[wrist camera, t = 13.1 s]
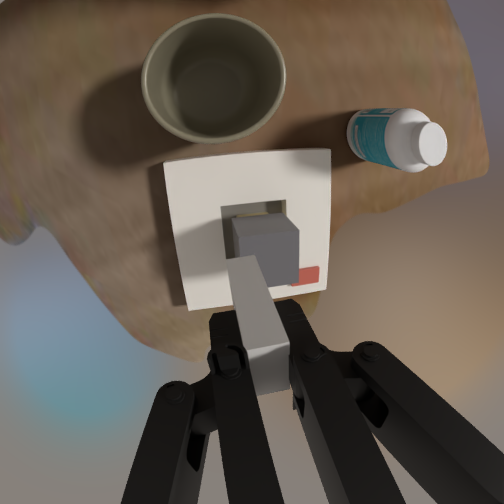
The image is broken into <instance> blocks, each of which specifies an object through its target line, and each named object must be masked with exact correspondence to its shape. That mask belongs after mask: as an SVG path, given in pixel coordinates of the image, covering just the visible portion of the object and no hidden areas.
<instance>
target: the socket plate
mask: <svg viewBox="0 0 504 504" xmlns="http://www.w3.org/2000/svg"><path fill="white" fill-rule="evenodd" d="M163 166H164V174H165V181H166V189H167V196H168V203H169V209H170V216H171V222H172V228H173V234H174V240H175V245H176V251H177V256H178V262H179V267H180V272H181V277H182V282H183V287H184V292H185V297H186V301H187V306H188V310H189V311H190V310H198V309H205V308H213V307H220V306H227V305H233V301H232V295H231V289H230V282H229V276H228V270H227V263H226V259H232V258H235V251H234V241H233V230H232V219H231V218H237V216H236V215H243V214H252V213H261V212H268V214H273V213H284V214H285V215H286V216H287V217H288V218H289V220H290V221H291V222H292V223H293V224H294V225H295V226H296V227H297V228H298V229H299V283H294V284H288V285H282V286H275V287H269V288H268V289H269V292H270V294H271V297H272V299H274V298H280V297H286V296H292V295H298V294H303V293H309V292H315V291H320V290H326V285H327V271H328V256H329V237H330V209H331V149H326V148H292V149H272V150H256V151H243V152H232V153H221V154H212V155H203V156H195V157H187V158H180V159H173V160H166V161H165V162H164V163H163Z"/></svg>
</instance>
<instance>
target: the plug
mask: <svg viewBox="0 0 504 504" xmlns="http://www.w3.org/2000/svg"><path fill="white" fill-rule="evenodd" d="M236 216H237V218H231V219H232V230H233V241H234V251H235V258H238V257H245V256H251V255H255V257H256V260H257V262H258V265H259V267H260V270H261V272H262V275H263V277H264V280H265V282H266V284H267V287H268V288H269V287H275V286H282V285H288V284H294V283H299V229H298V228H297V227H296V226H295V225H294V224H293V223H292V222H291V221H290V220H289V218H288V217H287V216H286V215H285V214H284V213H273V214H268V212H261V213H252V214H243V215H236Z"/></svg>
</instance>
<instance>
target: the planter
mask: <svg viewBox="0 0 504 504" xmlns="http://www.w3.org/2000/svg"><path fill="white" fill-rule="evenodd" d="M285 87H286V67H285V62H284V59H283V56H282V53H281V51H280V49H279V47H278V46H277V44H276V43H275V41H274V40H273V39H272V38H271V36H270V35H269V34H268V33H267V32H266V31H264V30H263V29H262V28H261V27H259V26H258V25H256V24H254V23H253V22H251V21H249V20H247V19H244V18H241V17H238V16H234V15H230V14H221V13H210V14H202V15H197V16H193V17H190V18H187V19H185V20H183V21H181V22H179V23H177V24H175V25H173V26H172V27H170V28H169V29H168V30H166V31H165V32H164V33H163V34H162V35H161V36H160V37H159V38H158V39H157V40H156V41H155V43H154V44H153V45H152V47H151V48H150V50H149V52H148V54H147V56H146V58H145V61H144V64H143V68H142V73H141V89H142V95H143V98H144V101H145V104H146V106H147V108H148V110H149V112H150V113H151V115H152V116H153V118H154V119H155V120H156V121H157V122H158V123H159V124H160V125H161V126H162V127H163V128H164V129H166V130H167V131H169V132H170V133H172V134H173V135H175V136H177V137H179V138H182V139H184V140H187V141H190V142H195V143H201V144H222V143H228V142H232V141H235V140H238V139H241V138H243V137H246V136H248V135H250V134H251V133H253V132H255V131H256V130H258V129H259V128H260V127H262V126H263V125H264V124H265V123H266V122H267V121H268V120H269V119H270V118H271V117H272V115H273V114H274V113H275V111H276V110H277V108H278V106H279V105H280V103H281V100H282V98H283V95H284V92H285Z"/></svg>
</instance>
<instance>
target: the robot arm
mask: <svg viewBox="0 0 504 504" xmlns="http://www.w3.org/2000/svg"><path fill="white" fill-rule="evenodd" d="M226 263H227V270H228V276H229V282H230V289H231V295H232V301H233V306H234V310H231V311H225V312H219V313H213V315H212V317H211V319H210V321H209V328H210V340H211V350H210V352H209V353H208V356H207V360H208V364H209V367H210V370H211V371H210V373H209V374H208V375H207V376H206V377H205V378H204V379H202V380H200V381H198V382H196V383H193V384H191V385H189V384H187V383H186V382H182V381H171V382H169V383H166V384H165V385H163V386H162V387H161V388H160V389H159V390H158V392H157V394H156V397H155V399H154V402H153V405H152V408H151V411H150V414H149V417H148V420H147V423H146V426H145V428H144V431H143V435H142V437H141V440H140V444H139V446H138V449H137V452H136V456H135V459H134V462H133V465H132V468H131V471H130V474H129V478H128V481H127V484H126V488H125V491H124V494H123V498H122V501H121V504H197V502H198V497H199V491H200V485H201V480H202V474H203V468H204V463H205V458H206V452H207V446H208V440H209V436H210V432H213V431H215V430H217V429H218V434H219V440H220V448H221V455H222V462H223V469H224V476H225V481H226V488H227V494H228V499H229V504H284V500H283V497H282V493H281V489H280V486H279V483H278V478H277V475H276V471H275V467H274V464H273V460H272V456H271V452H270V448H269V444H268V440H267V436H266V433H265V428H264V424H263V420H262V416H261V412H260V408H259V404H258V400H257V396H259V395H264V394H269V393H273V392H278V391H283V390H287V389H290V384H291V387H292V390H293V410H295V409H297V412H298V415H299V418H300V421H301V424H302V427H303V430H304V432H305V436H306V438H307V441H308V444H309V447H310V450H311V453H312V456H313V459H314V462H315V464H316V467H317V470H318V473H319V476H320V478H321V482H322V484H323V487H324V490H325V493H326V496H327V499H328V502H329V504H406V503H405V501H404V498H403V496H402V494H401V492H400V490H399V488H398V486H397V484H396V482H395V480H394V477H393V475H392V473H391V471H390V469H389V467H388V465H387V463H386V461H385V459H384V457H383V455H382V453H381V451H380V449H379V447H378V445H377V443H376V441H375V439H374V437H373V435H372V433H373V434H374V435H375V436H376V438H377V439H378V440H379V441H380V442H381V443H382V444H383V445H384V447H385V448H386V449H387V450H388V451H389V452H390V453H391V454H392V455H393V456H394V458H396V460H397V461H398V462H399V463H400V464H401V465H402V466H403V467H404V468H405V470H407V472H408V473H409V474H410V475H411V476H412V477H413V478H414V479H415V480H416V481H417V482H418V483H419V485H420V486H421V487H422V488H423V489H424V490H425V491H426V492H427V493H428V494H429V495H430V496H431V497H432V498H433V499H434V500H435V502H436V503H437V504H504V454H503V453H502V452H501V451H500V450H499V449H498V448H497V447H496V446H495V445H494V444H492V443H491V442H490V441H489V440H488V439H487V438H486V437H485V436H484V435H483V434H481V433H480V432H479V431H478V430H477V429H476V428H475V427H474V426H473V425H472V424H471V423H469V422H468V421H467V420H466V419H465V418H464V417H463V416H462V415H461V414H460V413H458V412H457V411H456V410H455V409H454V408H453V407H451V405H449V404H448V403H447V402H446V401H445V400H444V399H443V398H442V397H441V396H439V395H438V394H437V393H436V392H435V391H434V390H433V389H431V388H430V387H429V386H428V385H427V384H426V383H425V382H424V381H423V380H421V379H420V378H419V377H418V376H417V375H416V374H415V373H413V372H412V371H411V370H410V369H409V368H408V367H407V366H405V365H404V364H403V363H402V362H401V361H400V360H399V359H397V358H396V357H395V356H394V355H393V354H392V353H390V352H389V351H388V350H387V349H386V348H385V347H384V346H382V345H381V344H379V343H376V342H373V341H365V342H362V343H359V344H358V345H357V346H356V347H354V349H353V352H336V351H331V350H329V349H328V348H327V347H326V346H324V345H322V344H320V343H319V341H318V339H317V337H316V335H315V333H314V331H313V330H312V328H311V326H310V324H309V322H308V320H307V318H306V316H305V314H304V312H303V310H302V308H301V306H300V304H298V303H297V302H295V301H294V300H293V299H288V300H283V301H277V302H273V299H272V297H271V294H270V292H269V289H268V287H267V284H266V282H265V280H264V277H263V275H262V272H261V270H260V267H259V265H258V262H257V260H256V257H255V255H251V256H245V257H238V258H232V259H226Z"/></svg>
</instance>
